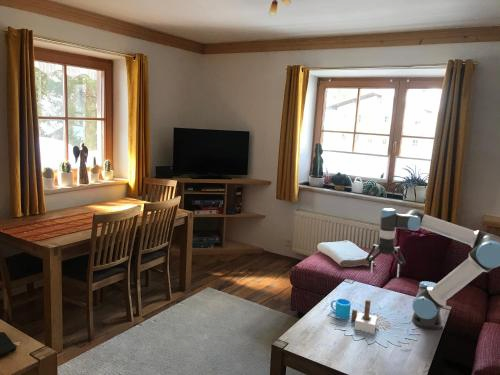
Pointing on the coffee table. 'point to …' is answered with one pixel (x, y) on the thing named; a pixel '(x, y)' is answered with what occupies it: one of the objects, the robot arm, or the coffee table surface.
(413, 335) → the coffee table surface
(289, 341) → the coffee table surface
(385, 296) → the coffee table surface
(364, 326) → the hole block
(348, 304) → the mug
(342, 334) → the coffee table surface
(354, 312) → the short dowel
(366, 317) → the long dowel
